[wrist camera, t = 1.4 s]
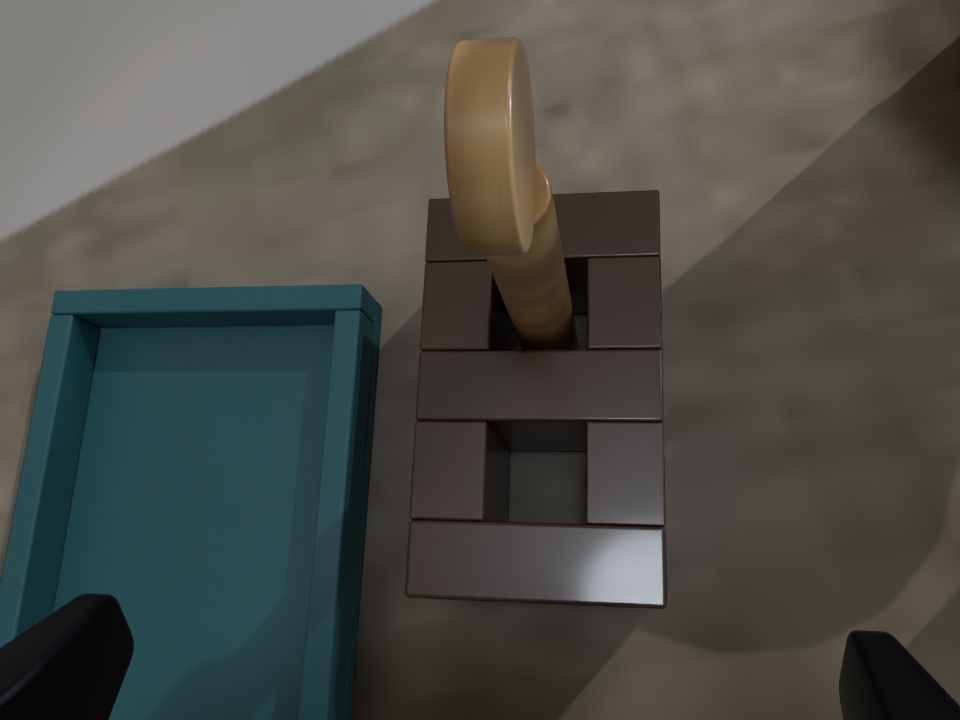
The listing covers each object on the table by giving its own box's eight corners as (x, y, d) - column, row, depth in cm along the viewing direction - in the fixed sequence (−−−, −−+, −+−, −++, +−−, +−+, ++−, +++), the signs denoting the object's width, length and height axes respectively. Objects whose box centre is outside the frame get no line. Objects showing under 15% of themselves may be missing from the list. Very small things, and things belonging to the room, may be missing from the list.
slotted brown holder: (658, 605, 22) (667, 609, 18) (443, 596, 23) (404, 597, 19) (652, 257, 25) (659, 189, 21) (460, 262, 26) (428, 198, 22)
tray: (325, 1057, 21) (294, 1105, 19) (-26, 1006, 23) (-88, 1046, 21) (382, 306, 26) (362, 283, 24) (94, 311, 28) (53, 290, 26)
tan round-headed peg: (579, 407, 24) (530, 196, 11) (525, 407, 24) (416, 200, 11) (580, 299, 25) (536, -14, 12) (528, 299, 25) (430, -6, 12)
